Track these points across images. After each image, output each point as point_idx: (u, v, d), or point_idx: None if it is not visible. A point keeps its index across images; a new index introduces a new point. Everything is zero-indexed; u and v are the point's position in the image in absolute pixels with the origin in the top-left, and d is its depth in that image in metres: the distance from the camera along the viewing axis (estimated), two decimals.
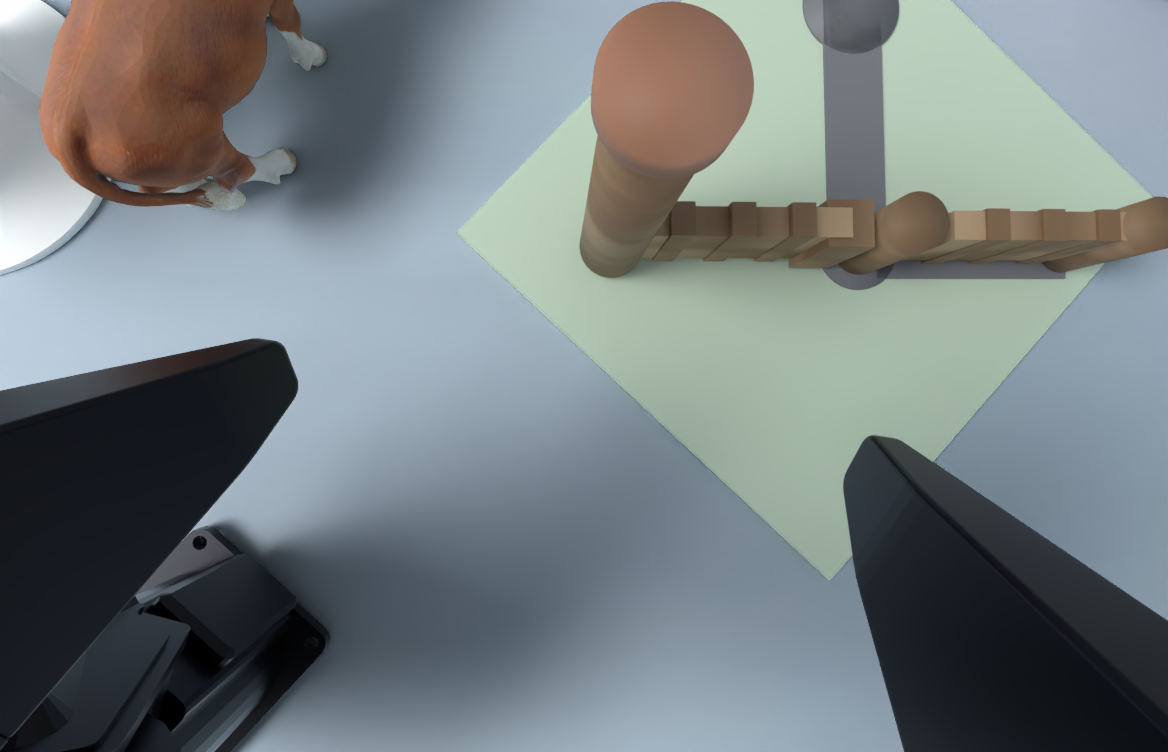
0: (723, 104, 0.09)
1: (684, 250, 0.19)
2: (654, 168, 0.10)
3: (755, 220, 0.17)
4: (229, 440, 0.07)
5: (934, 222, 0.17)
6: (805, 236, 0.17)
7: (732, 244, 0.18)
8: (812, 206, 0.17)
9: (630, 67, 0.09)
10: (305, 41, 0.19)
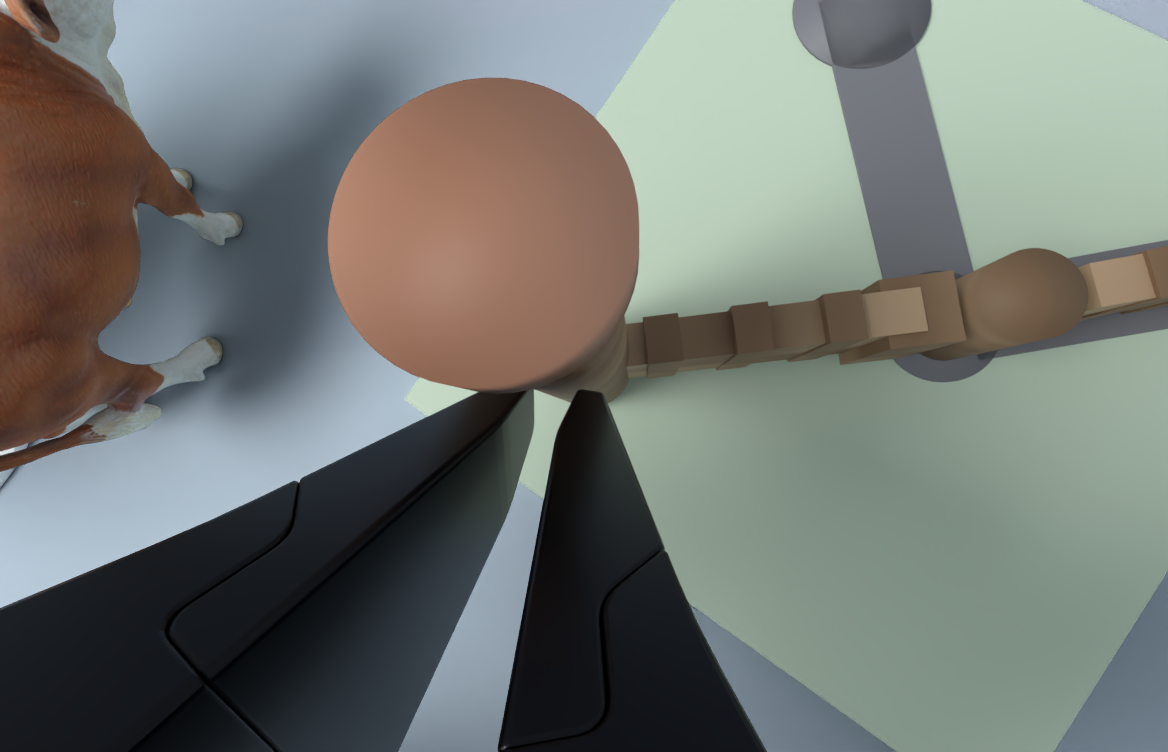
0: (580, 256, 0.05)
1: (682, 367, 0.14)
2: (472, 389, 0.05)
3: (769, 328, 0.12)
4: (504, 490, 0.07)
5: (1061, 291, 0.11)
6: (851, 341, 0.12)
7: (746, 356, 0.13)
8: (855, 295, 0.12)
9: (392, 216, 0.05)
10: (209, 216, 0.17)
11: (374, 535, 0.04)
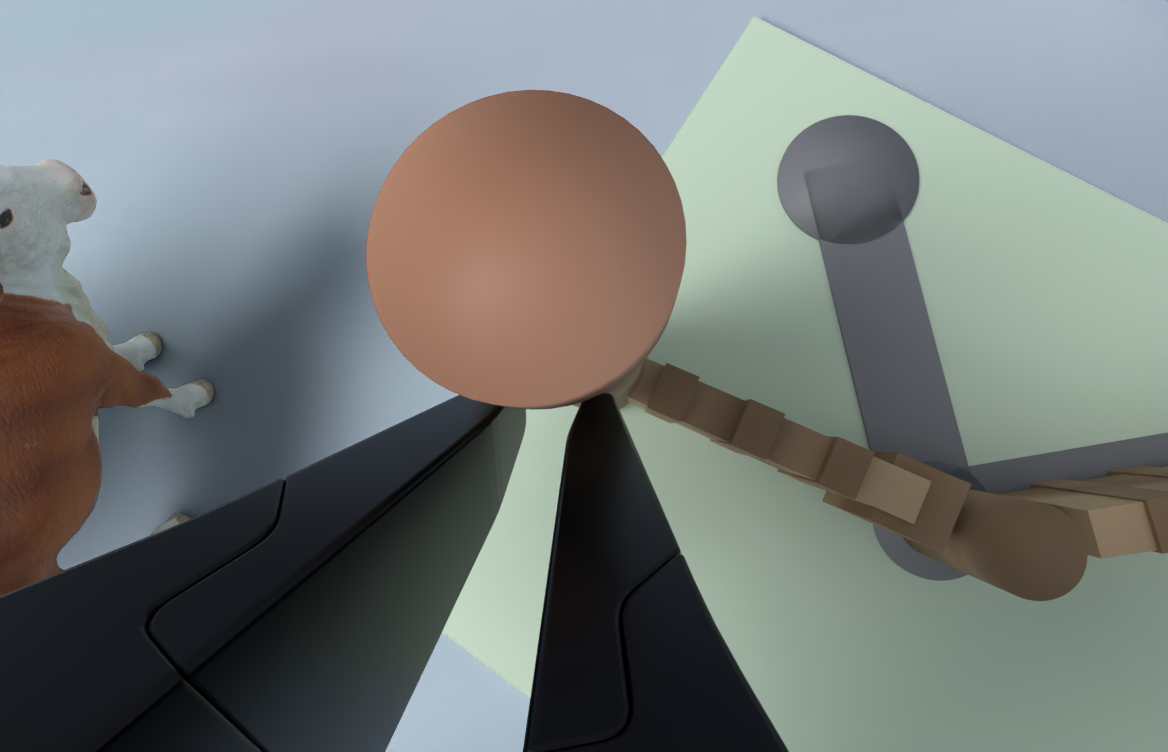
0: (593, 322, 0.05)
1: (678, 423, 0.14)
2: None
3: (772, 438, 0.11)
4: (494, 488, 0.07)
5: (1059, 549, 0.11)
6: (838, 492, 0.11)
7: None
8: (867, 455, 0.11)
9: (452, 189, 0.05)
10: (178, 394, 0.16)
11: (359, 532, 0.04)
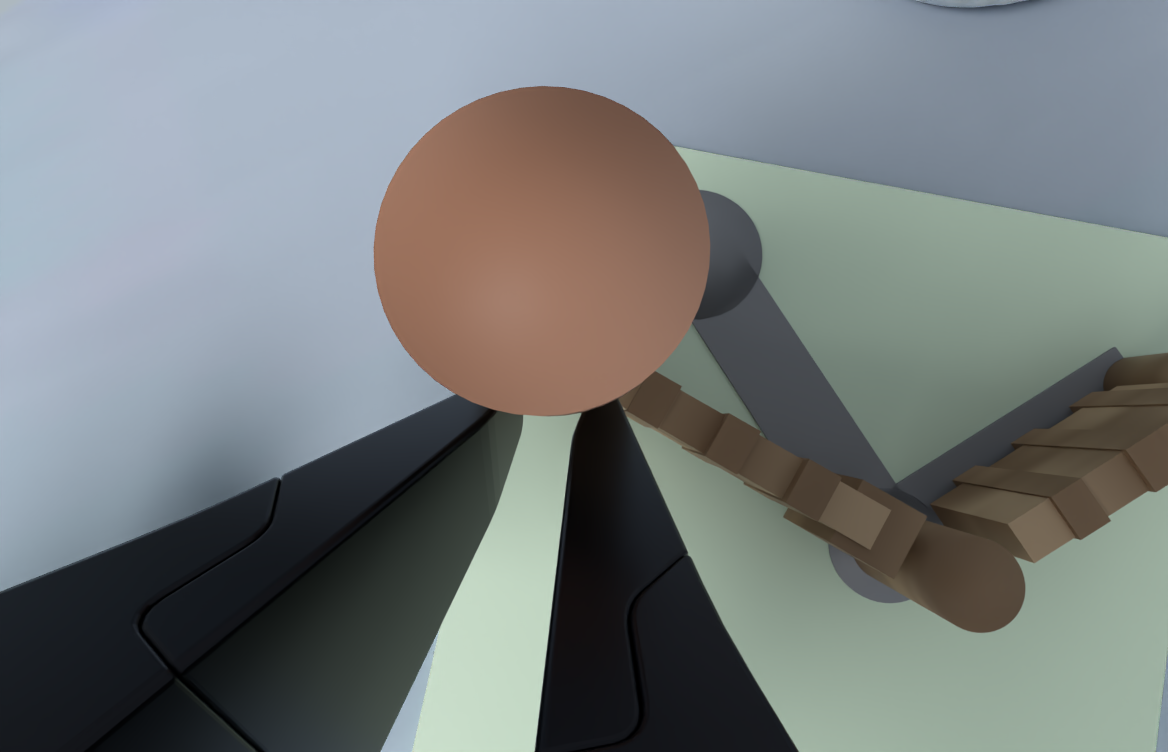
0: (606, 336, 0.04)
1: (654, 428, 0.14)
2: None
3: (746, 454, 0.12)
4: (491, 488, 0.07)
5: (998, 576, 0.11)
6: (802, 513, 0.12)
7: None
8: (834, 479, 0.11)
9: (474, 180, 0.05)
10: None
11: (353, 531, 0.04)
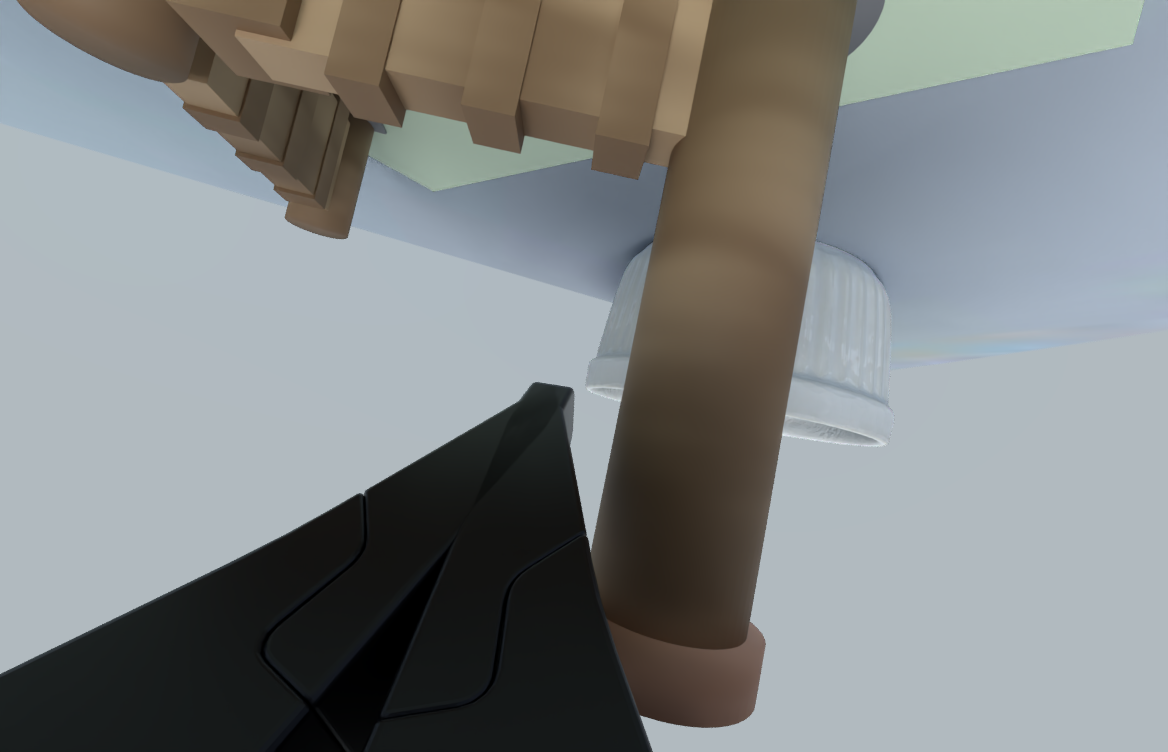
0: None
1: (614, 7, 0.08)
2: (703, 692, 0.06)
3: (469, 122, 0.08)
4: None
5: (125, 59, 0.08)
6: (346, 69, 0.08)
7: (504, 33, 0.08)
8: (358, 114, 0.09)
9: None
10: None
11: (447, 550, 0.04)
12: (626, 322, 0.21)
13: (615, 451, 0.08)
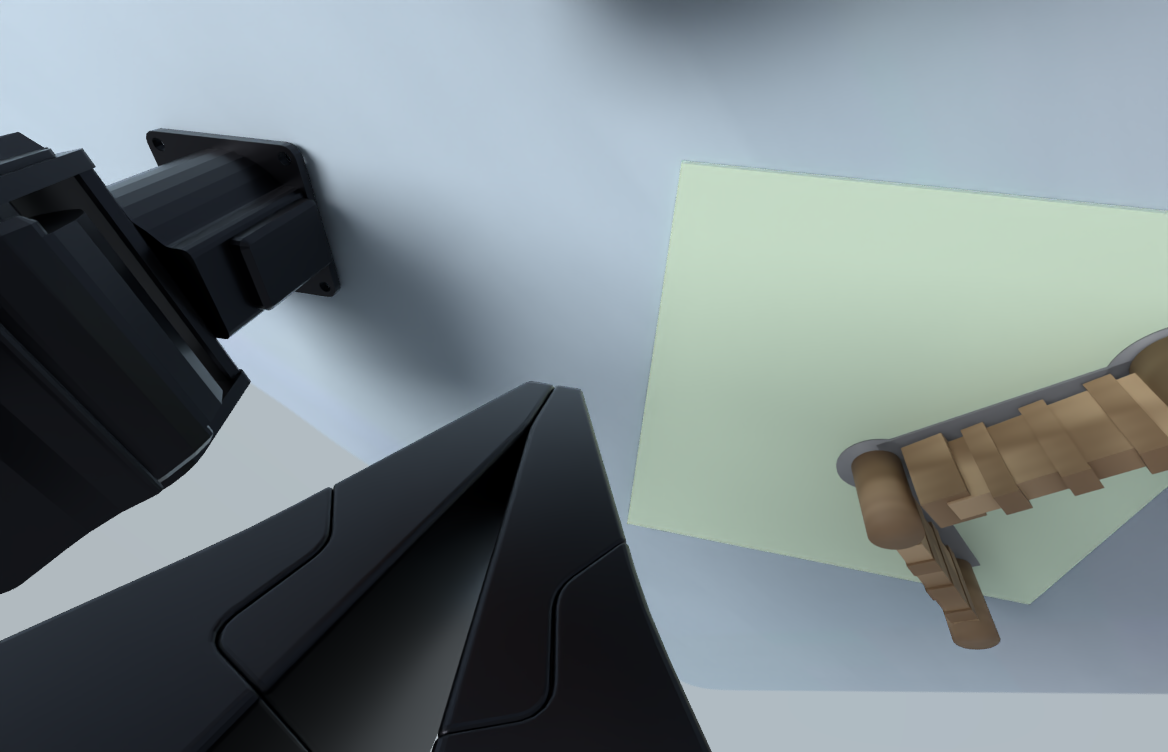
0: None
1: (1099, 412, 0.18)
2: None
3: (1068, 485, 0.17)
4: None
5: (899, 541, 0.21)
6: (1001, 491, 0.18)
7: (1057, 446, 0.18)
8: (1009, 512, 0.19)
9: None
10: None
11: (413, 543, 0.04)
12: None
13: None
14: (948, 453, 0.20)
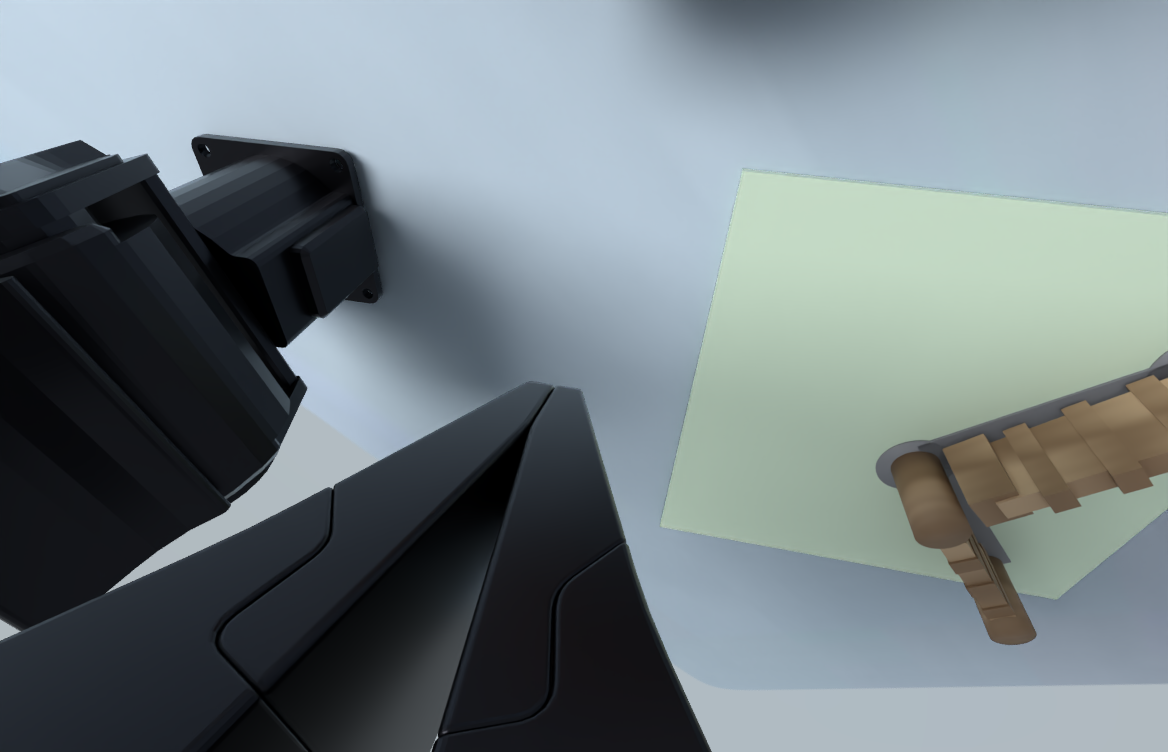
0: None
1: (1145, 412, 0.18)
2: None
3: (1118, 483, 0.18)
4: None
5: (945, 541, 0.21)
6: (1051, 491, 0.19)
7: (1105, 446, 0.18)
8: (1058, 510, 0.19)
9: None
10: None
11: (412, 543, 0.04)
12: None
13: None
14: (993, 453, 0.21)
